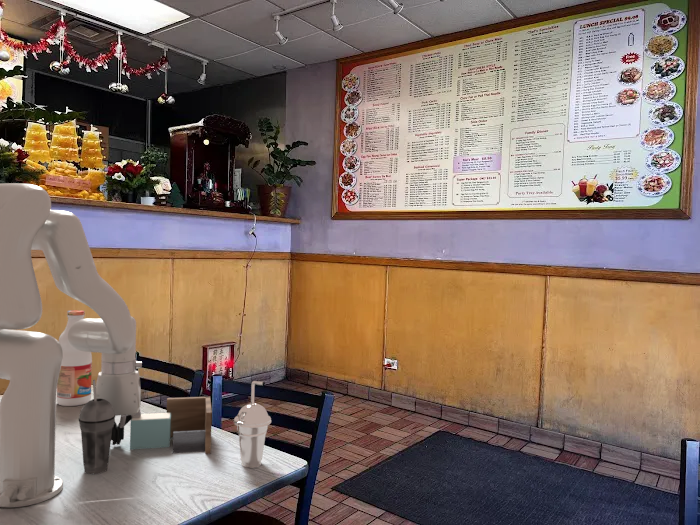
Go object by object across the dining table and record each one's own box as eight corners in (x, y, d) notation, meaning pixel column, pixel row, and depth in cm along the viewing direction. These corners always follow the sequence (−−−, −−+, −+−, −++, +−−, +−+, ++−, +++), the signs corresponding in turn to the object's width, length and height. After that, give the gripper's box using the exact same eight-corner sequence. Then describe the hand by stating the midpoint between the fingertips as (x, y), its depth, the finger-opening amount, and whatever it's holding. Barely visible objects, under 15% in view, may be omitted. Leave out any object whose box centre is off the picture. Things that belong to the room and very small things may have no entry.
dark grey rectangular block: (205, 451, 131) (205, 435, 131) (172, 454, 129) (172, 437, 129) (204, 445, 135) (205, 429, 135) (173, 447, 133) (173, 431, 133)
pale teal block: (169, 447, 133) (170, 418, 133) (129, 449, 131) (130, 420, 130) (170, 440, 138) (171, 412, 138) (132, 442, 135) (132, 414, 135)
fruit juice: (61, 398, 171) (63, 309, 170) (94, 397, 173) (96, 309, 172) (52, 407, 161) (54, 312, 161) (87, 406, 164) (89, 313, 163)
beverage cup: (121, 466, 121) (123, 376, 120) (98, 479, 114) (100, 384, 113) (93, 462, 123) (95, 373, 122) (69, 474, 116) (71, 380, 115)
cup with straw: (269, 456, 130) (272, 372, 129) (270, 472, 121) (273, 382, 120) (233, 457, 128) (235, 372, 128) (231, 473, 119) (233, 382, 119)
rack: (210, 454, 130) (211, 412, 129) (162, 457, 127) (164, 414, 127) (209, 434, 143) (210, 396, 143) (166, 436, 140) (167, 398, 140)
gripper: (152, 363, 137) (150, 435, 138) (87, 364, 133) (85, 439, 133) (150, 369, 130) (148, 446, 130) (81, 371, 126) (79, 450, 126)
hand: (116, 442), depth 132 cm, fingers closed
